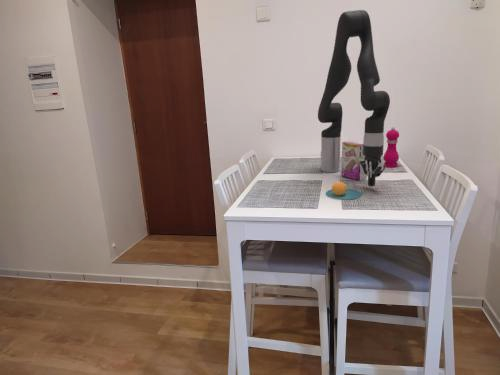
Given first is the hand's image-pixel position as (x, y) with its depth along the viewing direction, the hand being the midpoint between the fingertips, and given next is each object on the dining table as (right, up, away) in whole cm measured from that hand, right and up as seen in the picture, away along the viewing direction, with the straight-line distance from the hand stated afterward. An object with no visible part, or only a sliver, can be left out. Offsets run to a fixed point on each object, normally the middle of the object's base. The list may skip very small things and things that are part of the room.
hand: (371, 185), depth 137 cm
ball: (-15, -1, -5) cm, 16 cm away
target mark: (-12, -3, -3) cm, 13 cm away
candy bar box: (-2, +4, +18) cm, 19 cm away
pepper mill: (+22, +10, +34) cm, 42 cm away
